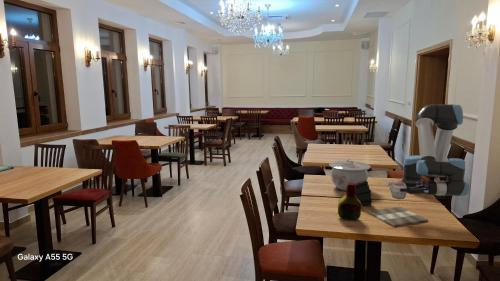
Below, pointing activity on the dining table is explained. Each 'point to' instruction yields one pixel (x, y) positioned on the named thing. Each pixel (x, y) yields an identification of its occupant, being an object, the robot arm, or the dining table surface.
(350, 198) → the bottle
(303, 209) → the dining table surface
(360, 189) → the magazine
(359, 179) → the chamber pot
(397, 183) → the cupcake
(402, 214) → the checkered cloth napkin
